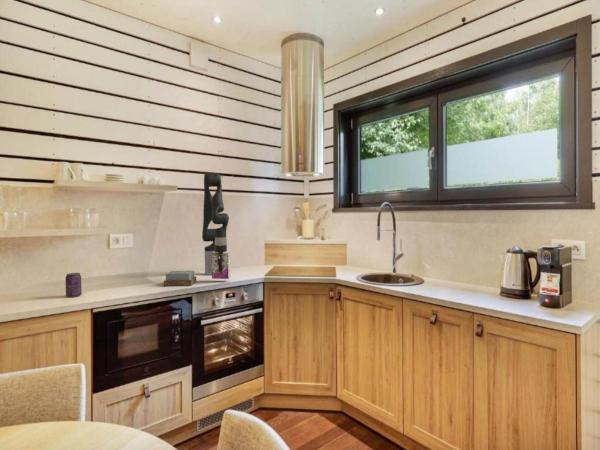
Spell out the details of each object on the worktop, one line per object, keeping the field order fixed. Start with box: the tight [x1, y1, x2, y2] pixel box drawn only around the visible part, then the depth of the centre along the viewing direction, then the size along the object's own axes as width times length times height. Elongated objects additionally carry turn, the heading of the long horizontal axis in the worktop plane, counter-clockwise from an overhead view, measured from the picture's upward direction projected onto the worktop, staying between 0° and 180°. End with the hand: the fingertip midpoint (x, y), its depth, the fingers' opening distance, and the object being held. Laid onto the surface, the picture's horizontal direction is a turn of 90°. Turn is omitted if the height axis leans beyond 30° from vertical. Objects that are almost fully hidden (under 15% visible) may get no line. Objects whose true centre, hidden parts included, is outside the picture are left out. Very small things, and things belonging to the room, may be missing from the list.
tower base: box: [163, 276, 197, 288], centre depth 221 cm, size 14×16×4 cm
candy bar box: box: [211, 252, 231, 280], centre depth 228 cm, size 11×5×16 cm, turn 85°
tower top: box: [165, 270, 195, 280], centre depth 221 cm, size 11×14×4 cm
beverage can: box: [65, 272, 83, 298], centre depth 188 cm, size 7×7×12 cm
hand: (221, 270), depth 228 cm, fingers closed on candy bar box, 5 cm apart
